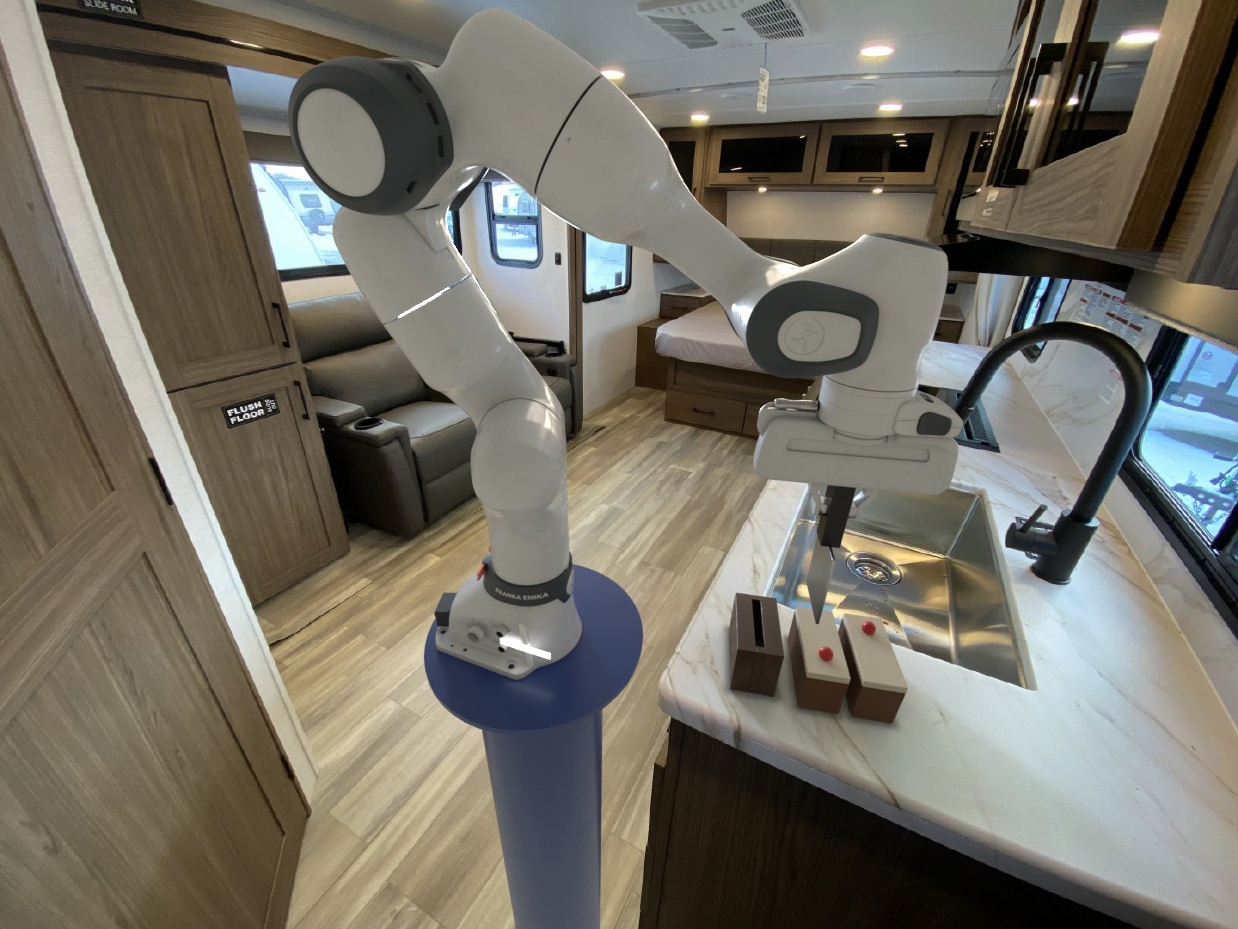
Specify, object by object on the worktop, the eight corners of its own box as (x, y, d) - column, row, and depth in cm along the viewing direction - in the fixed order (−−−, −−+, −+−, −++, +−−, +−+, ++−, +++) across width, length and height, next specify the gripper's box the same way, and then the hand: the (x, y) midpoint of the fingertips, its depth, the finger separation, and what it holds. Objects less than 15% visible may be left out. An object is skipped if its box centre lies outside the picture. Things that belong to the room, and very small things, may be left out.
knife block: (729, 689, 69) (737, 649, 65) (728, 630, 78) (735, 592, 74) (774, 697, 68) (784, 656, 64) (767, 636, 77) (776, 598, 73)
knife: (807, 623, 61) (841, 492, 52) (799, 580, 68) (827, 458, 59) (826, 625, 61) (863, 494, 52) (815, 582, 68) (846, 459, 59)
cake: (797, 707, 66) (810, 664, 62) (787, 639, 77) (797, 598, 73) (892, 724, 64) (912, 680, 61) (868, 652, 75) (884, 610, 71)
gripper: (763, 407, 50) (745, 519, 57) (982, 423, 47) (937, 540, 54) (759, 387, 56) (743, 492, 62) (955, 400, 53) (917, 509, 59)
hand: (834, 514), depth 58 cm, fingers closed on knife, 2 cm apart
